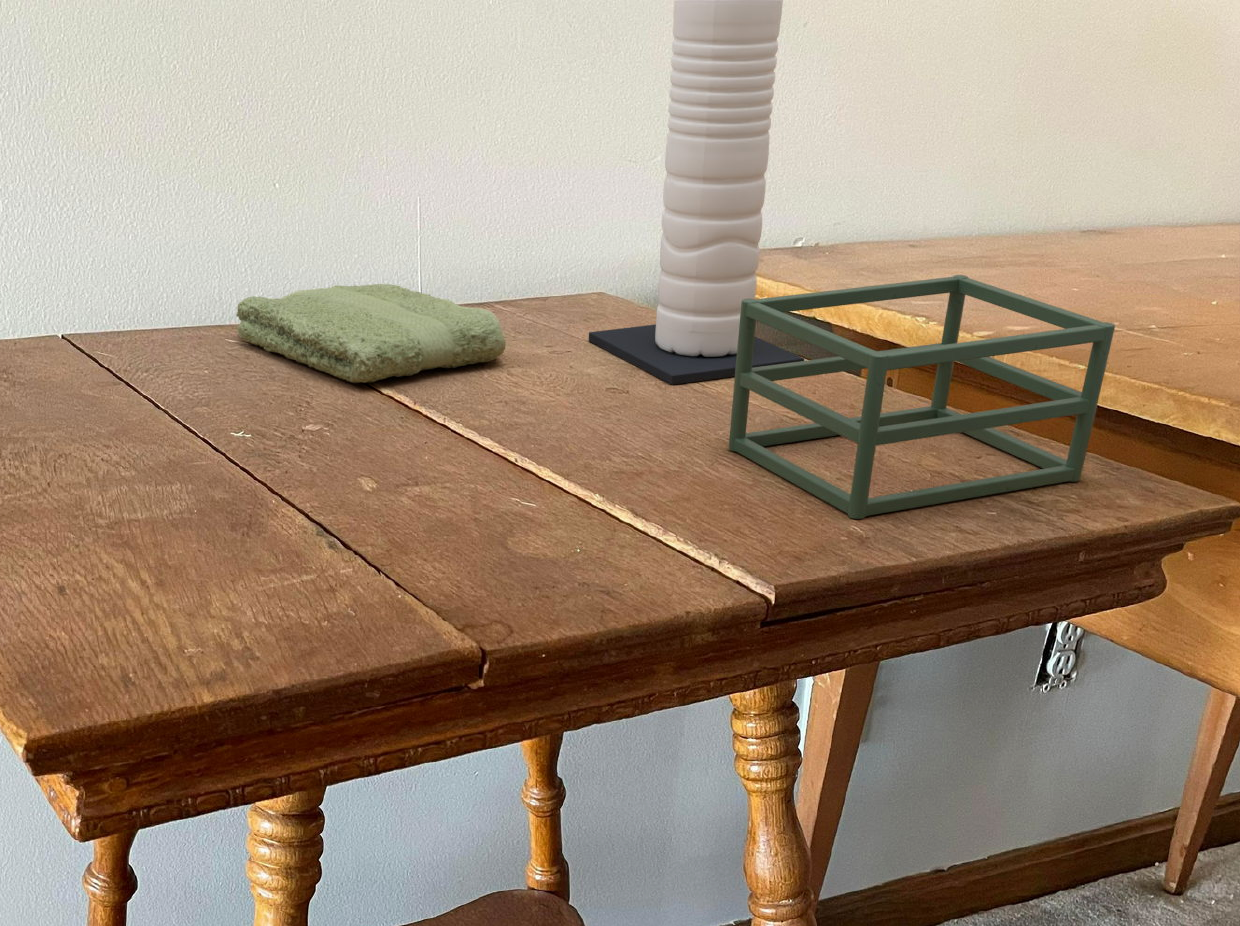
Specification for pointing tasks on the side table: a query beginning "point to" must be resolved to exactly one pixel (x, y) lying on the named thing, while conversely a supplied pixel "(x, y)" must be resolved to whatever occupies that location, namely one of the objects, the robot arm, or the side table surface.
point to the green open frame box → (925, 419)
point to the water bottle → (715, 170)
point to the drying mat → (681, 356)
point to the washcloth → (371, 331)
